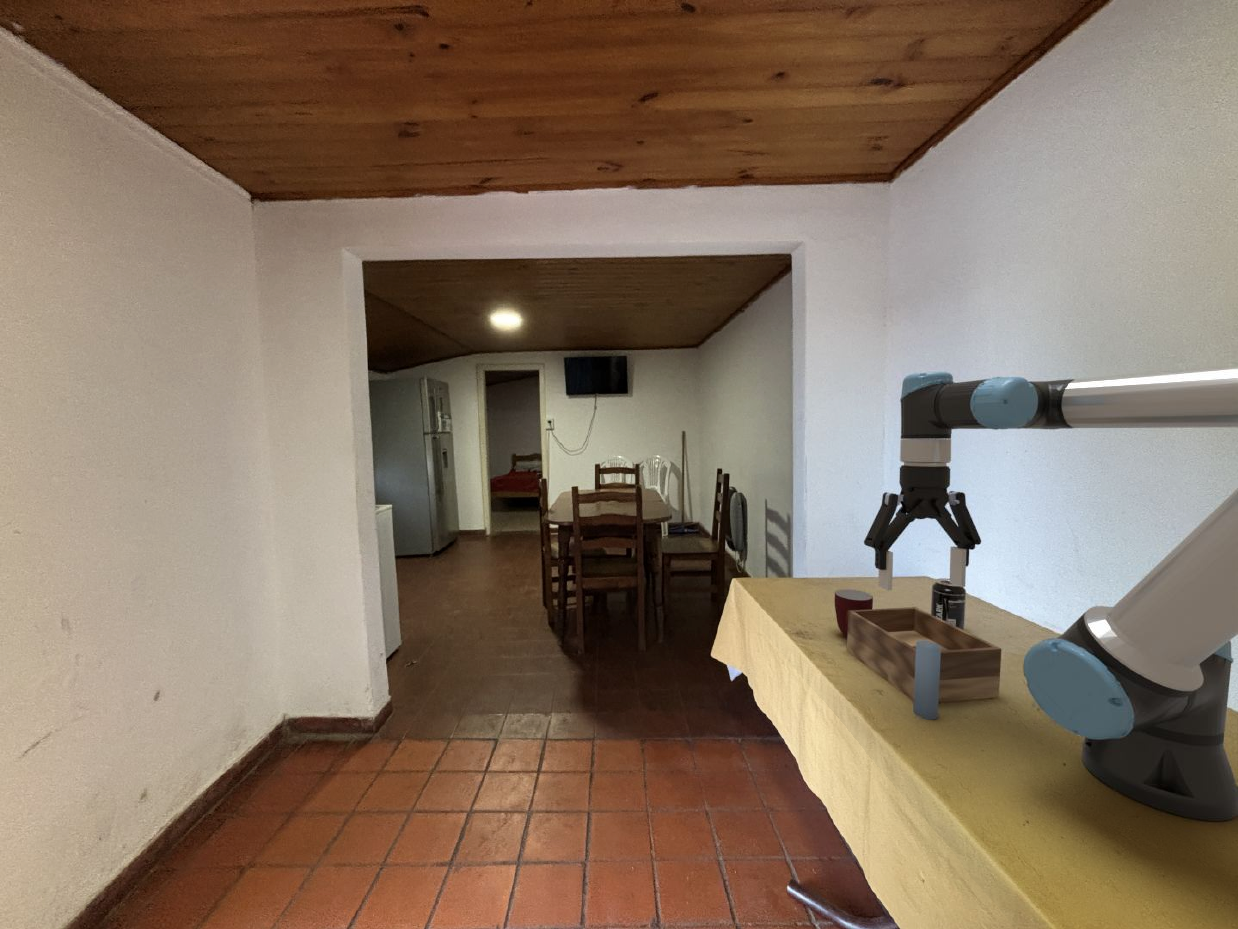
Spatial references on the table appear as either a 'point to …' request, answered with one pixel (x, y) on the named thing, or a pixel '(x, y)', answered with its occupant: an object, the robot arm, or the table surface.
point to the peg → (927, 679)
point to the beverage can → (948, 602)
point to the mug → (850, 606)
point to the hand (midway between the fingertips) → (921, 586)
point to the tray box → (892, 652)
